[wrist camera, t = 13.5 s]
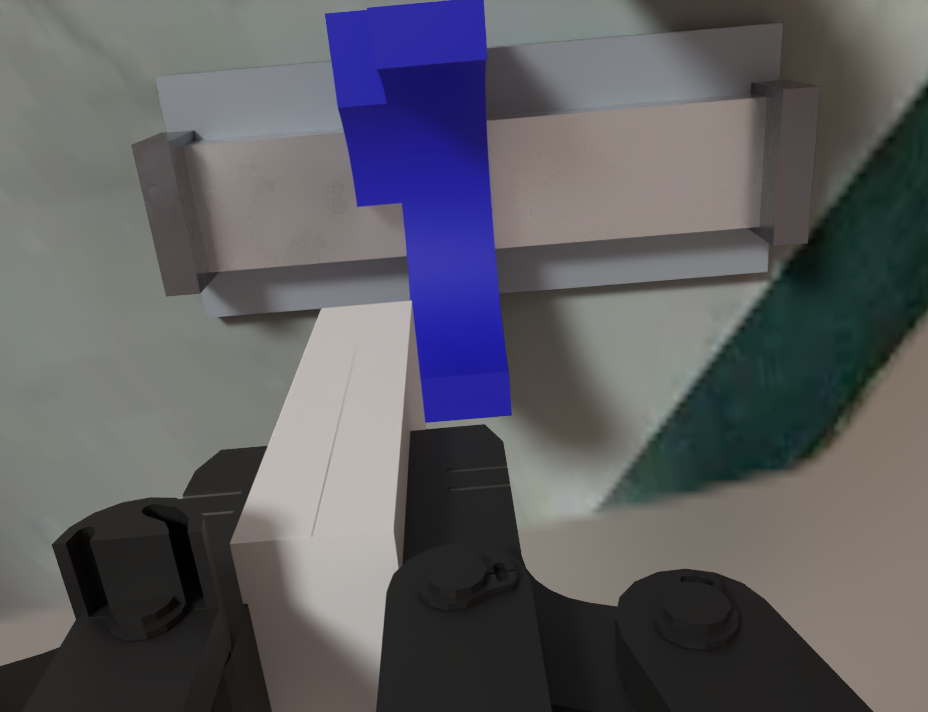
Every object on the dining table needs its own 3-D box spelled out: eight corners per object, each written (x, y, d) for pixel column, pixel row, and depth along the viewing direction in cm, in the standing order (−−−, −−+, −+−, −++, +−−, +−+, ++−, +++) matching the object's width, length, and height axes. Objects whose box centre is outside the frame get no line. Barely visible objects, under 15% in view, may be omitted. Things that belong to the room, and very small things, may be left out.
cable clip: (337, 13, 27) (309, 13, 21) (475, 1, 27) (483, -3, 21) (382, 354, 31) (368, 427, 26) (500, 344, 31) (511, 415, 26)
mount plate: (211, 311, 33) (205, 318, 32) (162, 75, 30) (154, 77, 29) (760, 266, 33) (767, 271, 32) (774, 22, 29) (783, 23, 29)
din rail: (190, 271, 32) (166, 296, 29) (161, 132, 30) (131, 144, 27) (775, 223, 31) (807, 243, 29) (784, 80, 29) (820, 86, 27)
